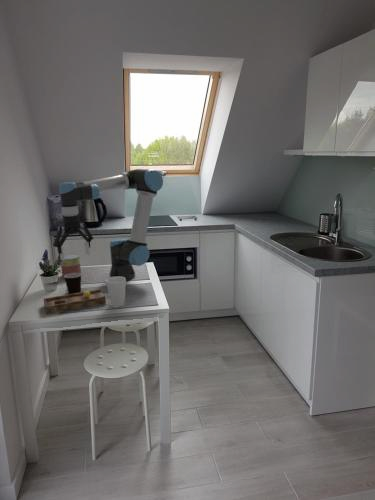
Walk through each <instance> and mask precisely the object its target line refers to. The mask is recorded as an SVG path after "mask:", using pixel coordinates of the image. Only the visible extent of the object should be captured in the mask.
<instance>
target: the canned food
mask: <svg viewBox="0 0 375 500" xmlns="http://www.w3.org/2000/svg"><path fill="white" fill-rule="evenodd" d="M60 267H61V274H62V276H61V277H62V278H63V279H65V277H64V276H65V275H67V274H70V273H80V274H81V275H82V269H81V259H80V254H76V253H75V254H73V253H72V254H70V253H69V254H66V255H65V254H64V261H62V262H61V261H60Z"/></svg>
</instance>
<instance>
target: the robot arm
mask: <svg viewBox="0 0 375 500" xmlns="http://www.w3.org/2000/svg"><path fill="white" fill-rule="evenodd" d="M163 178H164V177H163V176H162V174H161V172H159V171H158V170H157V169H153V168H136V169H133V170H132V169H131V170H128V171H124V172H120V173H119V174H118V175H113V176H107V177H103V178H102V177H101V178H97V179H92V180H86V181H81V182H74V181H71V182H66V181H65V182H61V183H59V189H58V191H59V196H60V203H61V205H60V206H61V213H62V215H63V216H62V222H63V226H57V232H56V235H55V238H54V240H53V244H52V246H53V247H55V248H57V253H58V254H59V259H60V258H61V260H63V261H64V255H65V252H64V247H63V245H64V243H65V241H66V240H67V238H68V237H69V235H73V234H78V235H79V236H80V237H81V238H83V240H85V241H84V248H85V255H88V256H89V255H91V253H90V248H91V242H92V241H93V240H94V237H93V235H92V234H91V232H90V230H89V228H88V227H87V224H86V222H80V215H79V212H80V211H79V205H78V202H82V201H83V202H84V201H93V200H98V199H99V197H100V194H102V193H107V192H111V191H117V190H135V192H136V194H137V199H136V204H135V210H134V215H133V219H132V226H131V231H130V235H129V237H126V238H123V237H122V238H117V239H112V240H111V241H110V242H109V251H110V252H109V253H110V262H111V265H110V266H111V267H110V270H109V278H110V277H117V276H120V277H125V279H126V281H129V280H132V279H134V278H135V277H136V272H135V270H134V267H133V266H138V267H139V266H143V265H144V264H145V263H147V262H148V260H149V257H150V250H149V248H148V247H147V246H148V241H147V240H146V238H147V232H148V227H149V222H150V218H151V212H152V207H153V206H152V205H153V200H154V198H155V197H157V194H158V192H159V191H160V190H161V189H162V188H163V184H164V179H163ZM80 228H81V229H82V230H83V231H84V233H83V232H82V230H81V229H80ZM63 231H64V232H63ZM61 260H60V261H61Z"/></svg>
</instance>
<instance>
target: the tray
mask: <svg viewBox="0 0 375 500" xmlns="http://www.w3.org/2000/svg"><path fill="white" fill-rule="evenodd" d="M88 291H89V292H90V297H88V298H85V297H84V296H83V293H84V292H85V291H81V292H80V293H74V294H68V293H67V294H64V295H57V296H51V297H45V298H43V303H44V309H45V313H46V315H50V314H57V313H62V311H63V312H69V311H72V310H77V309H78V308H79V309H83V308H89V307H93V306H94V307H95V306H101V305H106V304H107V301H106V296H105V295H103V293H102V290H101V289H100V288H98V289H93V290H88Z"/></svg>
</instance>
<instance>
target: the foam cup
mask: <svg viewBox="0 0 375 500" xmlns="http://www.w3.org/2000/svg"><path fill="white" fill-rule="evenodd" d="M105 285H106V287H107V292H108V295H109V301H110V305H111V307H113V308H120V307H123V306H124V305H125V300H126V285H127V280H126V279H125V277H120V276H117V277H110V276H109V277H108V278H106V280H105Z"/></svg>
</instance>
